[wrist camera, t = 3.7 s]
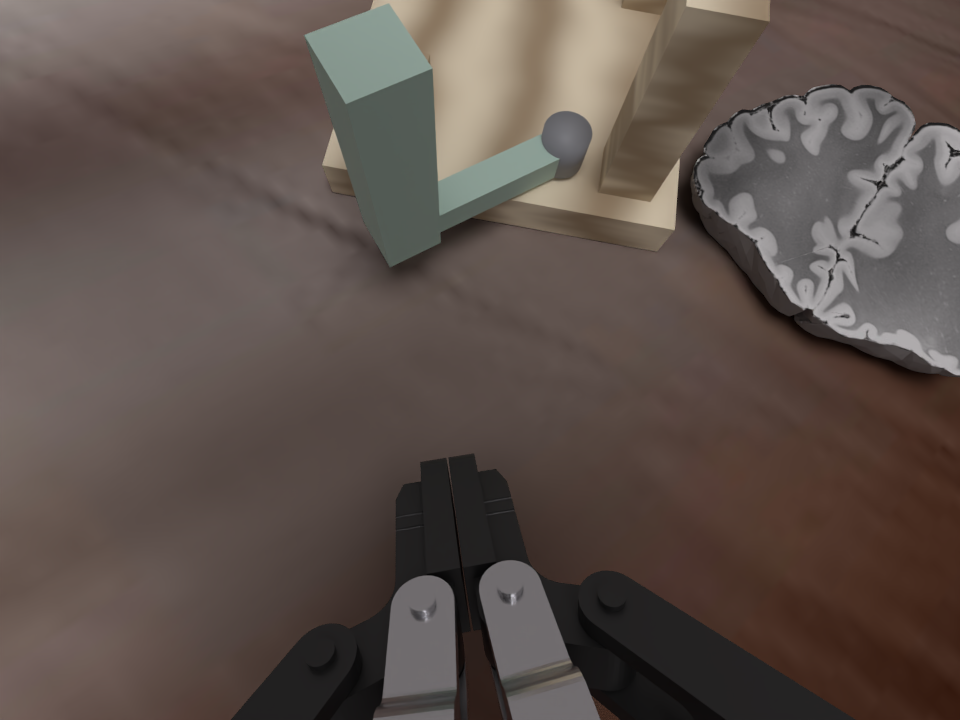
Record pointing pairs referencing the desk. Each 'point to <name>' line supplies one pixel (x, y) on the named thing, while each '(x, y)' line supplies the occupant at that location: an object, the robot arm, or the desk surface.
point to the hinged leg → (418, 137)
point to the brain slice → (844, 219)
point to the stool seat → (578, 98)
